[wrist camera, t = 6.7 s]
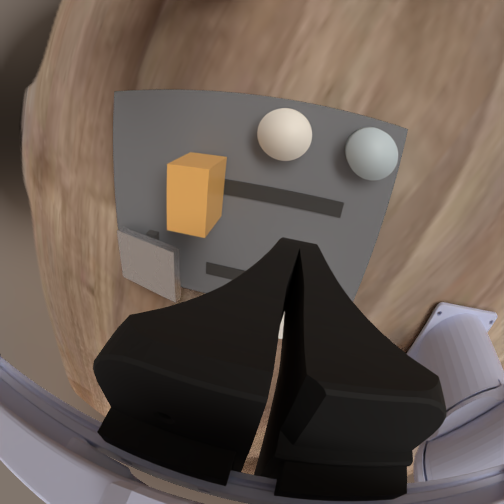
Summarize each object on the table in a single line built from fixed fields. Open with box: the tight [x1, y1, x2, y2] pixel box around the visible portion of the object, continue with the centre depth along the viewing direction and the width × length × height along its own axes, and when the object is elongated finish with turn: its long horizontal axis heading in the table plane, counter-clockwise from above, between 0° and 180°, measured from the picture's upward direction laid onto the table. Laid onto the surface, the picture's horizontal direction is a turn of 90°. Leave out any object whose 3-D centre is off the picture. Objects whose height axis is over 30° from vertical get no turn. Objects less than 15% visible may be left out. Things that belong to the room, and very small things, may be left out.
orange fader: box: [167, 152, 227, 238], centre depth 17 cm, size 4×2×3 cm, turn 173°
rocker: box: [117, 227, 181, 302], centre depth 21 cm, size 4×6×1 cm
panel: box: [113, 90, 408, 302], centre depth 19 cm, size 15×19×2 cm
